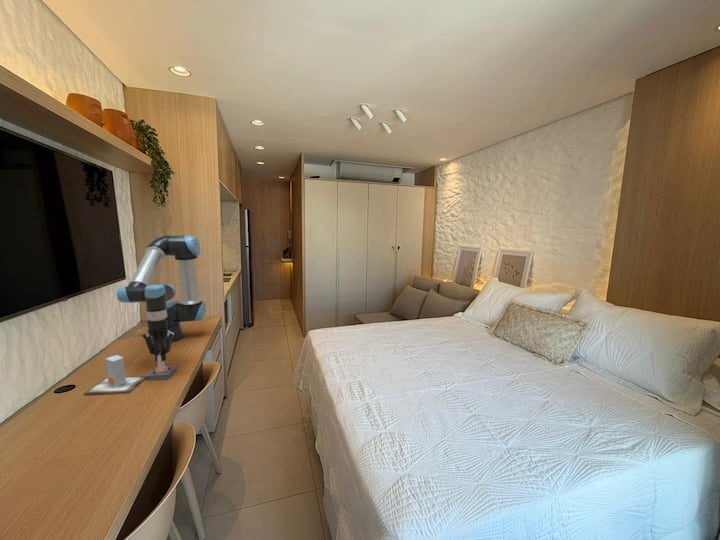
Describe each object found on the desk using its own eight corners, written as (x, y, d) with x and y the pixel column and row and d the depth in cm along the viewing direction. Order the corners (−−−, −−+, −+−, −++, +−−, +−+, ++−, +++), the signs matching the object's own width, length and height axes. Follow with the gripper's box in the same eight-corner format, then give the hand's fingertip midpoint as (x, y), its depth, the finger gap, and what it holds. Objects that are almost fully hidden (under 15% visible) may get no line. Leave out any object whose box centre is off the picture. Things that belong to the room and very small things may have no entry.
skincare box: (107, 384, 124) (104, 358, 122) (119, 379, 128) (116, 354, 126) (115, 387, 121) (112, 361, 120) (126, 383, 125) (124, 357, 124)
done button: (159, 371, 136) (158, 365, 136) (170, 371, 137) (170, 364, 137) (153, 376, 132) (152, 370, 131) (164, 376, 132) (164, 370, 132)
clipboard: (107, 379, 130) (107, 376, 130) (147, 377, 132) (147, 374, 132) (83, 395, 117) (83, 392, 117) (128, 393, 119) (128, 390, 119)
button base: (157, 370, 138) (157, 366, 138) (177, 370, 139) (176, 365, 139) (146, 380, 129) (145, 375, 129) (167, 379, 131) (167, 374, 130)
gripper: (136, 321, 126) (141, 371, 129) (168, 321, 128) (172, 370, 131) (147, 316, 133) (151, 364, 137) (176, 316, 135) (180, 363, 138)
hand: (161, 367), depth 134 cm, fingers closed
